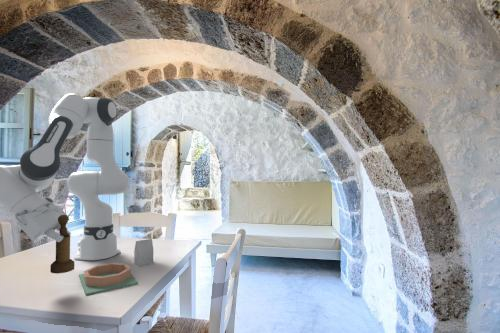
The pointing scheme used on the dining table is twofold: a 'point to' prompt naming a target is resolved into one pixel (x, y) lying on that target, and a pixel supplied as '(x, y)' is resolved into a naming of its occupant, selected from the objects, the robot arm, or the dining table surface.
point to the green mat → (95, 289)
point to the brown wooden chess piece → (62, 250)
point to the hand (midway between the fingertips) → (65, 238)
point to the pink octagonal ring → (108, 280)
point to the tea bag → (143, 252)
